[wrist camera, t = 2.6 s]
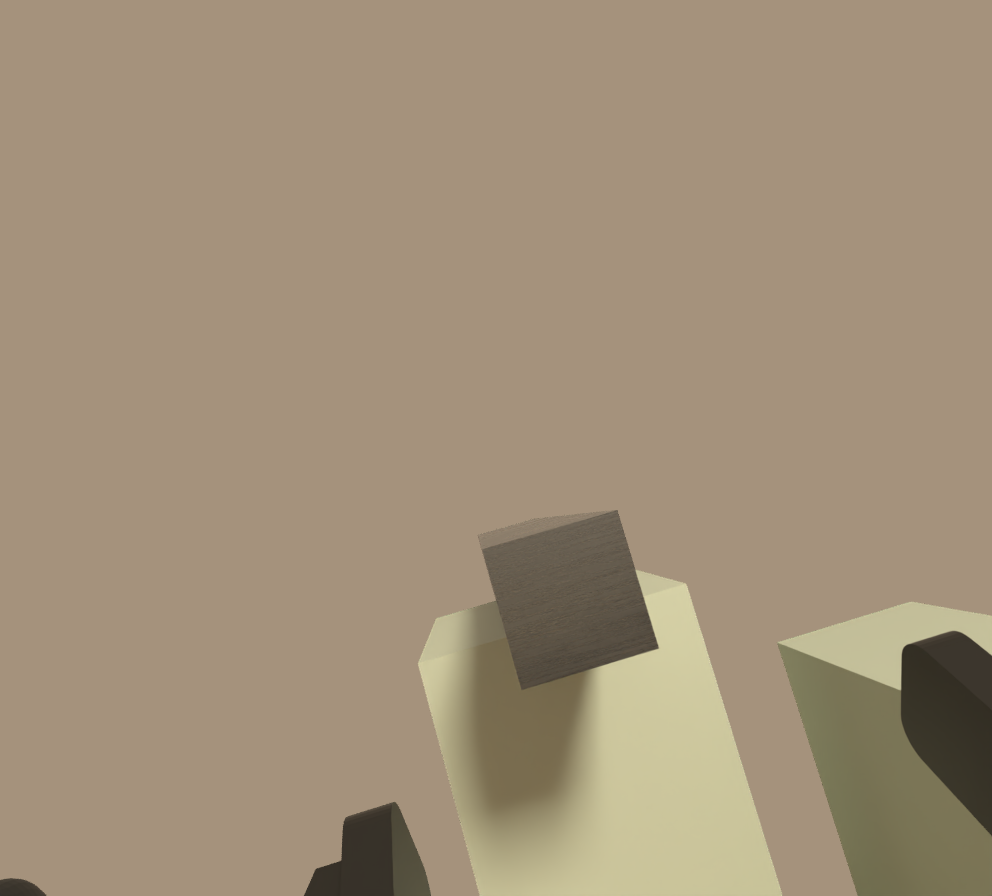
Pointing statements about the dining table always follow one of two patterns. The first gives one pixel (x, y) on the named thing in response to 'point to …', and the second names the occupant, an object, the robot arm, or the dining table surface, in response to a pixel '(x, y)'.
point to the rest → (886, 755)
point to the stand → (595, 765)
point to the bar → (567, 595)
